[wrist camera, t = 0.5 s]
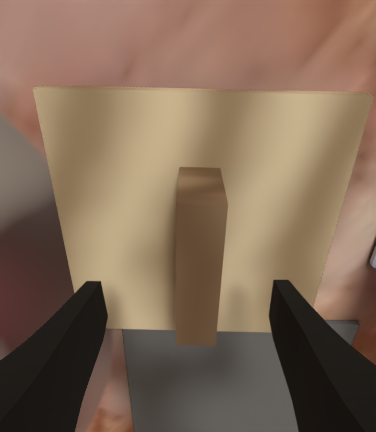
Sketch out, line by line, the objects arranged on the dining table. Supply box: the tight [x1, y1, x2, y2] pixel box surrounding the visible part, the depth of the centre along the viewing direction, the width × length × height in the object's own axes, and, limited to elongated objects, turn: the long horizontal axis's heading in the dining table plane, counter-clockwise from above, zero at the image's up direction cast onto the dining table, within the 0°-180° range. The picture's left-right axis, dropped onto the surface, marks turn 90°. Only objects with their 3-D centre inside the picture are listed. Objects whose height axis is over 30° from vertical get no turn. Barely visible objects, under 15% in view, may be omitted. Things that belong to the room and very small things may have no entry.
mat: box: [122, 320, 360, 432], centre depth 31 cm, size 20×18×1 cm
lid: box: [33, 85, 374, 346], centre depth 16 cm, size 15×15×5 cm
